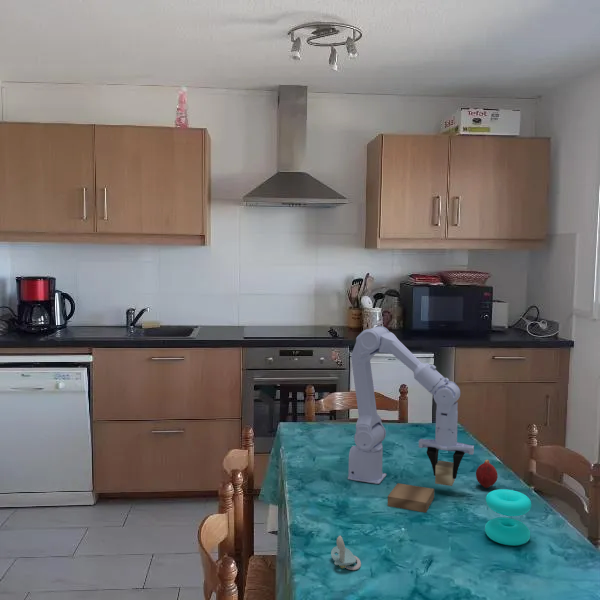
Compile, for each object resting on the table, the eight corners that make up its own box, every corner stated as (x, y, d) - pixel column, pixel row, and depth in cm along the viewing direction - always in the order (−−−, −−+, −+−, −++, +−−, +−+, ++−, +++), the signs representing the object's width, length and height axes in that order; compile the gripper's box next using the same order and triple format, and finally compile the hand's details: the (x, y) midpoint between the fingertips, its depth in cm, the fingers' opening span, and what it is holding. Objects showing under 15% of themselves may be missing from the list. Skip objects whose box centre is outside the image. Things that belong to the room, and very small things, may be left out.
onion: (498, 492, 169) (499, 464, 168) (476, 491, 170) (477, 462, 170) (495, 485, 175) (496, 457, 174) (474, 483, 176) (475, 455, 175)
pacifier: (356, 555, 134) (329, 556, 134) (357, 528, 134) (330, 528, 133) (364, 573, 127) (336, 574, 126) (366, 543, 127) (337, 544, 126)
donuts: (492, 484, 149) (535, 493, 144) (491, 524, 150) (534, 534, 144) (480, 498, 140) (526, 508, 135) (479, 540, 141) (524, 552, 136)
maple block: (435, 483, 168) (435, 465, 167) (438, 477, 172) (438, 460, 171) (451, 486, 166) (452, 467, 166) (454, 480, 170) (455, 462, 170)
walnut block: (387, 507, 160) (387, 496, 160) (397, 493, 169) (397, 483, 169) (426, 514, 156) (426, 502, 156) (434, 499, 165) (434, 488, 165)
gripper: (416, 428, 167) (415, 476, 168) (471, 434, 161) (470, 485, 162) (422, 421, 173) (421, 468, 174) (475, 427, 168) (474, 476, 169)
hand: (445, 476), depth 169 cm, fingers closed on maple block, 4 cm apart
